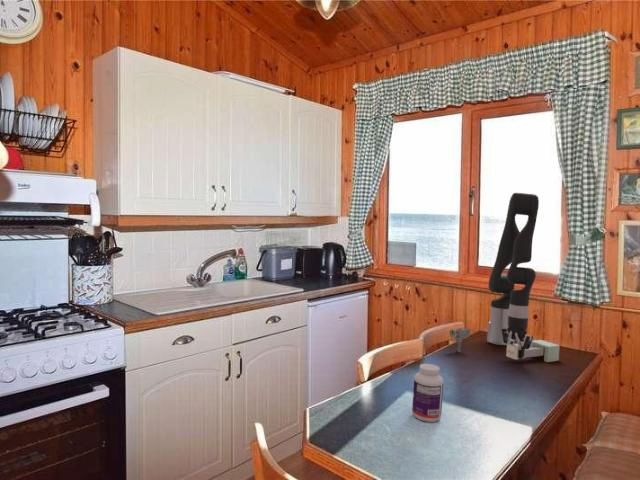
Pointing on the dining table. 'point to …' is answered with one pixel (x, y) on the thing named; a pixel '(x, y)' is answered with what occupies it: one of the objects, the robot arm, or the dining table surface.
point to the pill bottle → (427, 393)
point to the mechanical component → (459, 336)
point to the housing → (547, 350)
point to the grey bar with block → (531, 352)
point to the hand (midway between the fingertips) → (515, 356)
